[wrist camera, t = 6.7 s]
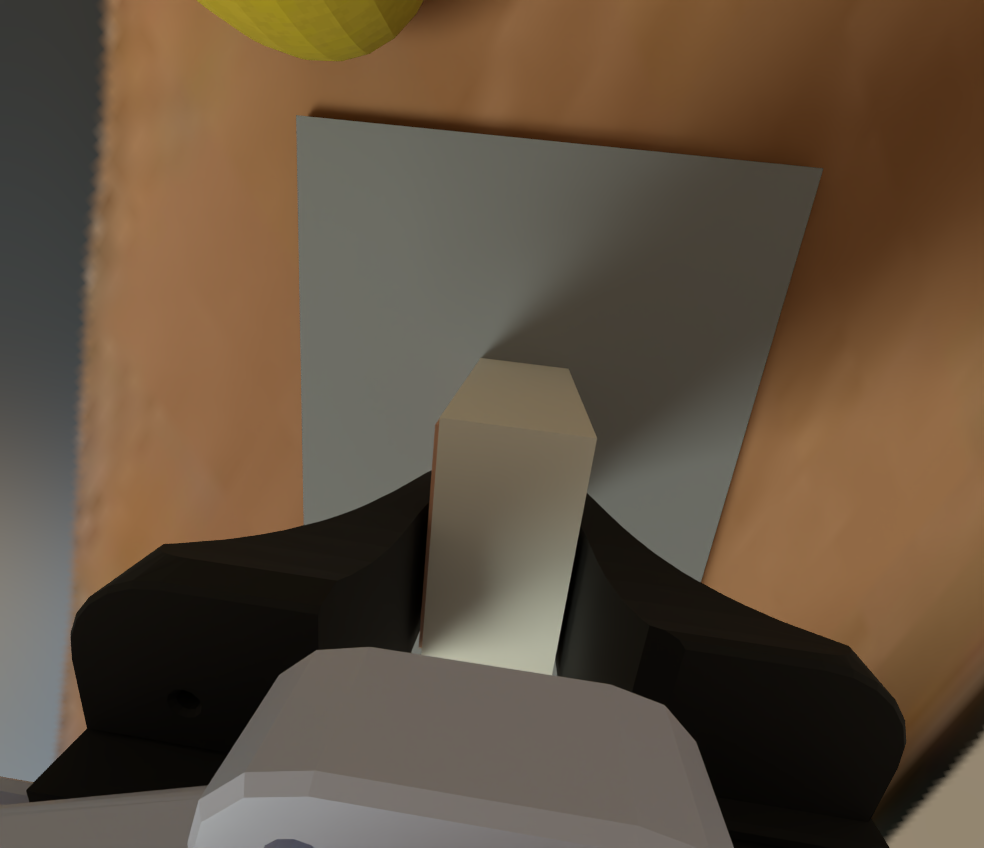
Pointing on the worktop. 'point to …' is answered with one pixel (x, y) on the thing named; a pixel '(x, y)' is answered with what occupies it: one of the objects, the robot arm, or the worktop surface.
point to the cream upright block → (505, 516)
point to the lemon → (318, 24)
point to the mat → (539, 307)
